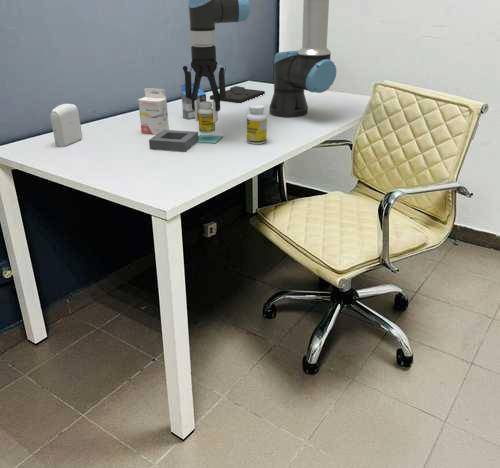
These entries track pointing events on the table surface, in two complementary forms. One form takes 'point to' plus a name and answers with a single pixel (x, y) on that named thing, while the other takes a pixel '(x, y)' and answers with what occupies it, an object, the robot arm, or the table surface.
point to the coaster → (208, 139)
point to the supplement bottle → (206, 118)
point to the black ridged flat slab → (240, 94)
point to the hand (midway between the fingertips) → (206, 120)
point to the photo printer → (66, 124)
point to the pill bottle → (256, 125)
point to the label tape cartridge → (190, 102)
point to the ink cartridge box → (153, 111)
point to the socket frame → (173, 140)
